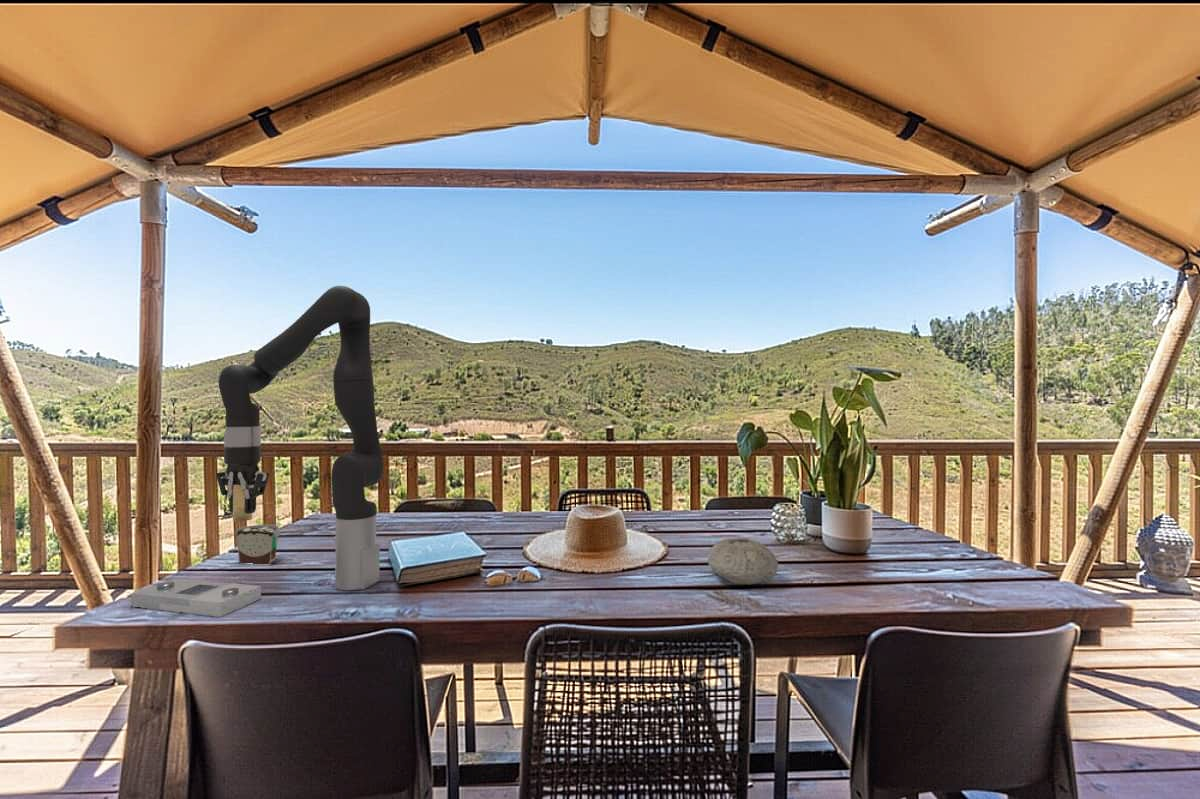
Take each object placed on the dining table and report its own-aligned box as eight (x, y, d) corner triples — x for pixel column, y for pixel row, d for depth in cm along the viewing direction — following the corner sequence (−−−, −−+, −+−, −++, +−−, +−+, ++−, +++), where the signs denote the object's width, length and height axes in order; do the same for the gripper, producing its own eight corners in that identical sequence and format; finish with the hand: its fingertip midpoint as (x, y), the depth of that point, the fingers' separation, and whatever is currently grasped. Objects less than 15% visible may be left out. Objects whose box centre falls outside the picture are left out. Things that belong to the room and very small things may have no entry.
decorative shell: (792, 587, 125) (793, 547, 125) (733, 596, 119) (733, 554, 119) (748, 565, 142) (748, 530, 142) (694, 572, 136) (694, 535, 136)
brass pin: (256, 518, 126) (256, 482, 126) (242, 521, 122) (242, 485, 123) (243, 517, 127) (243, 482, 127) (228, 521, 123) (228, 484, 123)
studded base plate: (260, 599, 115) (261, 583, 115) (220, 617, 106) (220, 600, 106) (177, 590, 120) (177, 575, 120) (130, 607, 110) (131, 590, 110)
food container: (290, 559, 145) (291, 524, 145) (274, 565, 139) (275, 530, 139) (251, 557, 146) (252, 523, 146) (234, 564, 140) (234, 528, 140)
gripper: (279, 443, 127) (278, 510, 127) (232, 443, 130) (232, 508, 130) (253, 446, 120) (253, 517, 120) (205, 445, 123) (204, 514, 123)
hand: (242, 512), depth 125 cm, fingers closed on brass pin, 4 cm apart
